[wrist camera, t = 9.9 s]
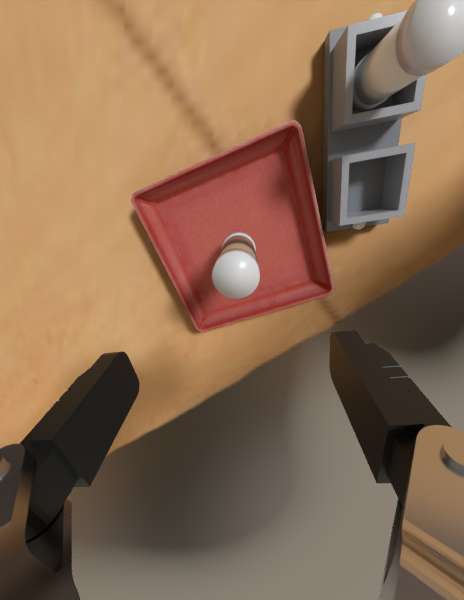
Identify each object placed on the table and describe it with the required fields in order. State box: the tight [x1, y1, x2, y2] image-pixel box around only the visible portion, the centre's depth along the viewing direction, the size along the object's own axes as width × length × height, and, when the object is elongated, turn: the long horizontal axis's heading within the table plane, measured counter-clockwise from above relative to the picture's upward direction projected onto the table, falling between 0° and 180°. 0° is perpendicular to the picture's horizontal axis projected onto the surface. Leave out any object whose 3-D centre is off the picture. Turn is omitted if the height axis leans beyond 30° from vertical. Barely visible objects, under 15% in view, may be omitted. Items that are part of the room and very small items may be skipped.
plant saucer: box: [131, 120, 334, 332], centre depth 27 cm, size 18×18×3 cm
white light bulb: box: [352, 0, 464, 112], centre depth 16 cm, size 4×4×9 cm
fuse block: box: [322, 10, 426, 232], centre depth 21 cm, size 6×16×4 cm, turn 9°
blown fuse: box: [212, 231, 260, 299], centre depth 21 cm, size 4×4×9 cm
